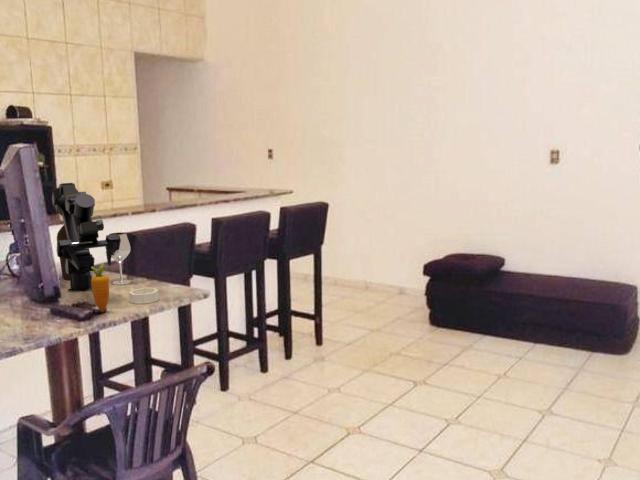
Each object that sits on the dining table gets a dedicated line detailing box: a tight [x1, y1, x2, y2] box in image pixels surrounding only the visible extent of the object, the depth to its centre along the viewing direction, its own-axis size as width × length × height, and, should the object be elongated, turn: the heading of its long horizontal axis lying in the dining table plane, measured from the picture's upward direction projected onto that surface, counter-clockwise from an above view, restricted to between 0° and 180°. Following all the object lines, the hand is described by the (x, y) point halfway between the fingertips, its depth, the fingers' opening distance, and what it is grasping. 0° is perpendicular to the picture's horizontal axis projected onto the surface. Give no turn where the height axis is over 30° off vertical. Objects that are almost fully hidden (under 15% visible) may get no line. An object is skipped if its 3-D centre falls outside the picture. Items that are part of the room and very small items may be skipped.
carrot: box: [91, 262, 110, 313], centre depth 186 cm, size 5×5×15 cm
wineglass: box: [108, 231, 132, 286], centre depth 223 cm, size 8×8×18 cm
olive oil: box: [56, 224, 71, 281], centre depth 232 cm, size 11×11×25 cm
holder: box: [128, 287, 160, 305], centre depth 199 cm, size 9×9×3 cm
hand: (94, 267), depth 191 cm, fingers open, 9 cm apart
